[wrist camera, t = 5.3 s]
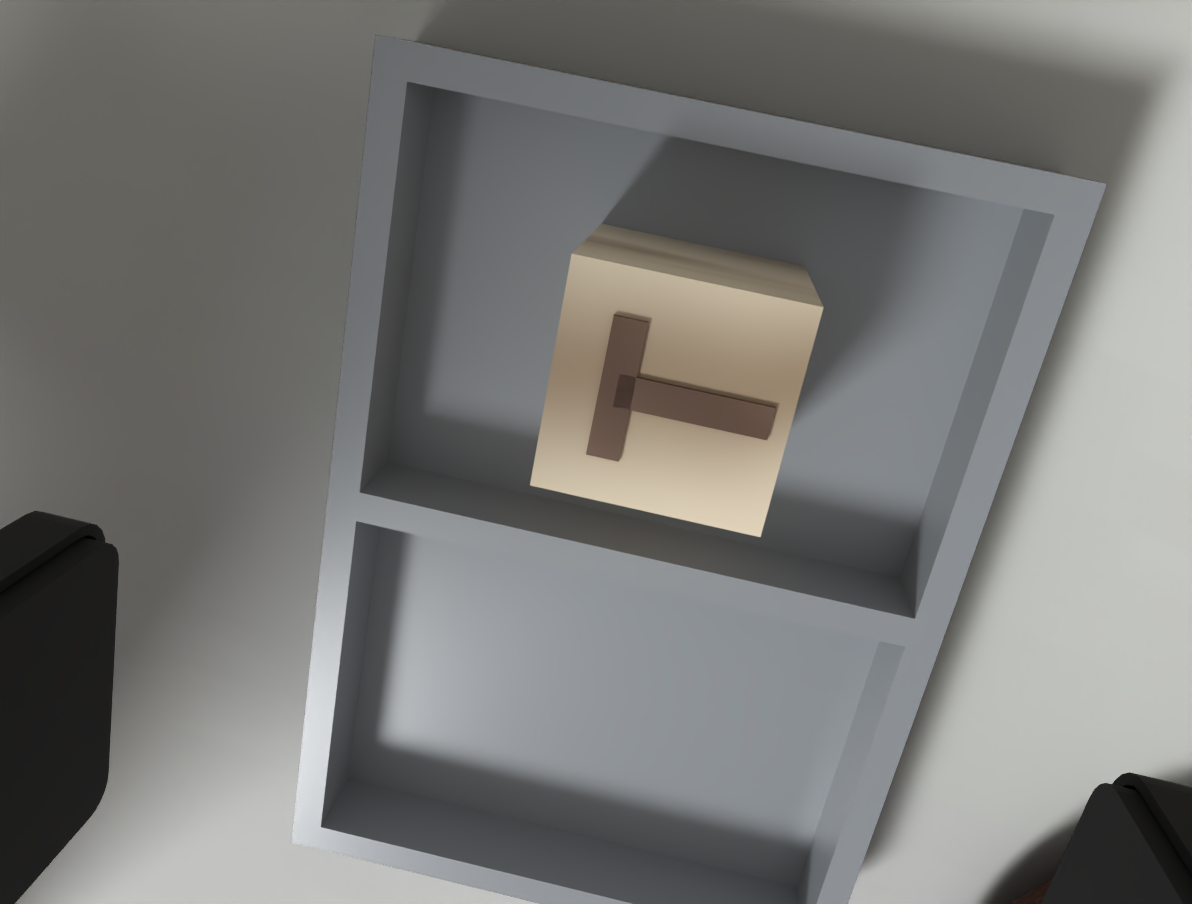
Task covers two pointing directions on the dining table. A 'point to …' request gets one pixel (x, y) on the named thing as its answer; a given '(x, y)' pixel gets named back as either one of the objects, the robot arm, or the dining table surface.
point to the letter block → (675, 377)
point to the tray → (638, 538)
